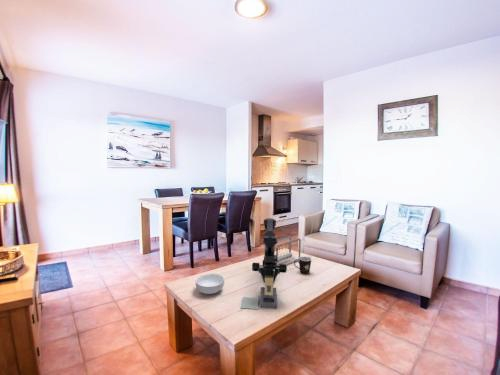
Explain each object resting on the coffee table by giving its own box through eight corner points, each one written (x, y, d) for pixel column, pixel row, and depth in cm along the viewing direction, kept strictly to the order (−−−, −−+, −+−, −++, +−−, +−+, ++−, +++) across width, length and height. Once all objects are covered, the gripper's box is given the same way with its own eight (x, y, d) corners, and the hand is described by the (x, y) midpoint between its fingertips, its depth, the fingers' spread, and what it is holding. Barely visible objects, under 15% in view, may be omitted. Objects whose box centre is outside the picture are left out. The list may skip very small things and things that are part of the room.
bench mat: (242, 297, 140) (242, 296, 140) (258, 298, 140) (258, 297, 140) (240, 308, 129) (240, 307, 129) (257, 309, 129) (257, 308, 129)
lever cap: (264, 292, 135) (264, 275, 134) (272, 293, 134) (273, 276, 134) (264, 295, 132) (264, 278, 131) (272, 295, 131) (273, 278, 131)
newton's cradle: (289, 256, 208) (290, 235, 206) (300, 259, 200) (301, 238, 199) (265, 265, 186) (266, 242, 185) (276, 270, 179) (277, 246, 178)
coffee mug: (310, 270, 179) (311, 257, 178) (310, 275, 170) (311, 261, 169) (294, 269, 181) (294, 255, 181) (293, 273, 173) (294, 259, 172)
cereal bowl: (193, 286, 152) (193, 275, 151) (220, 282, 158) (220, 271, 157) (198, 300, 136) (198, 288, 136) (227, 295, 142) (227, 283, 142)
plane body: (260, 291, 148) (261, 282, 147) (276, 291, 147) (276, 282, 147) (259, 307, 131) (260, 297, 130) (277, 308, 130) (277, 298, 129)
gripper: (252, 248, 136) (250, 276, 126) (287, 249, 135) (288, 278, 125) (253, 257, 144) (251, 284, 134) (285, 258, 143) (286, 286, 133)
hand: (269, 283), depth 131 cm, fingers closed on lever cap, 4 cm apart
